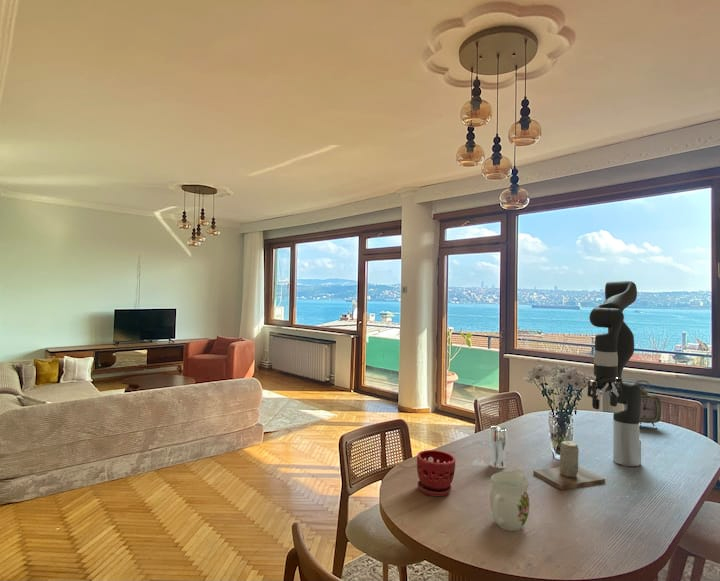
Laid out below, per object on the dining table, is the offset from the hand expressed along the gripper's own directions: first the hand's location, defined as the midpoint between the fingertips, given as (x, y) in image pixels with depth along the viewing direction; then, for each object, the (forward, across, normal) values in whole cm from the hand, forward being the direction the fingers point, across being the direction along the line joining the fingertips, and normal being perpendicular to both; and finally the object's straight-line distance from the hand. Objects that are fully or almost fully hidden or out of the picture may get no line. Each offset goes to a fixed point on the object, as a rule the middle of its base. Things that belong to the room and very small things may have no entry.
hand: (604, 407), depth 155 cm
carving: (+27, +9, -7) cm, 29 cm away
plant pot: (+26, +62, -14) cm, 69 cm away
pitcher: (+25, +54, +14) cm, 61 cm away
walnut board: (+28, +9, -7) cm, 30 cm away
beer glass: (+28, +27, -26) cm, 47 cm away
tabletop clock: (+35, -84, -47) cm, 102 cm away
